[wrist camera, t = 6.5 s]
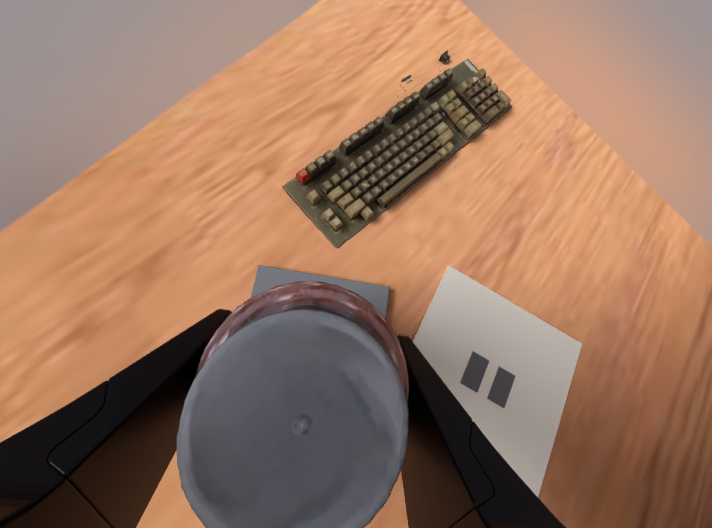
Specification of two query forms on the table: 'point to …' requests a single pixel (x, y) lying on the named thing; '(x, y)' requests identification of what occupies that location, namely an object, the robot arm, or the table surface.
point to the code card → (500, 369)
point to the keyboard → (396, 151)
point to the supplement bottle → (296, 413)
